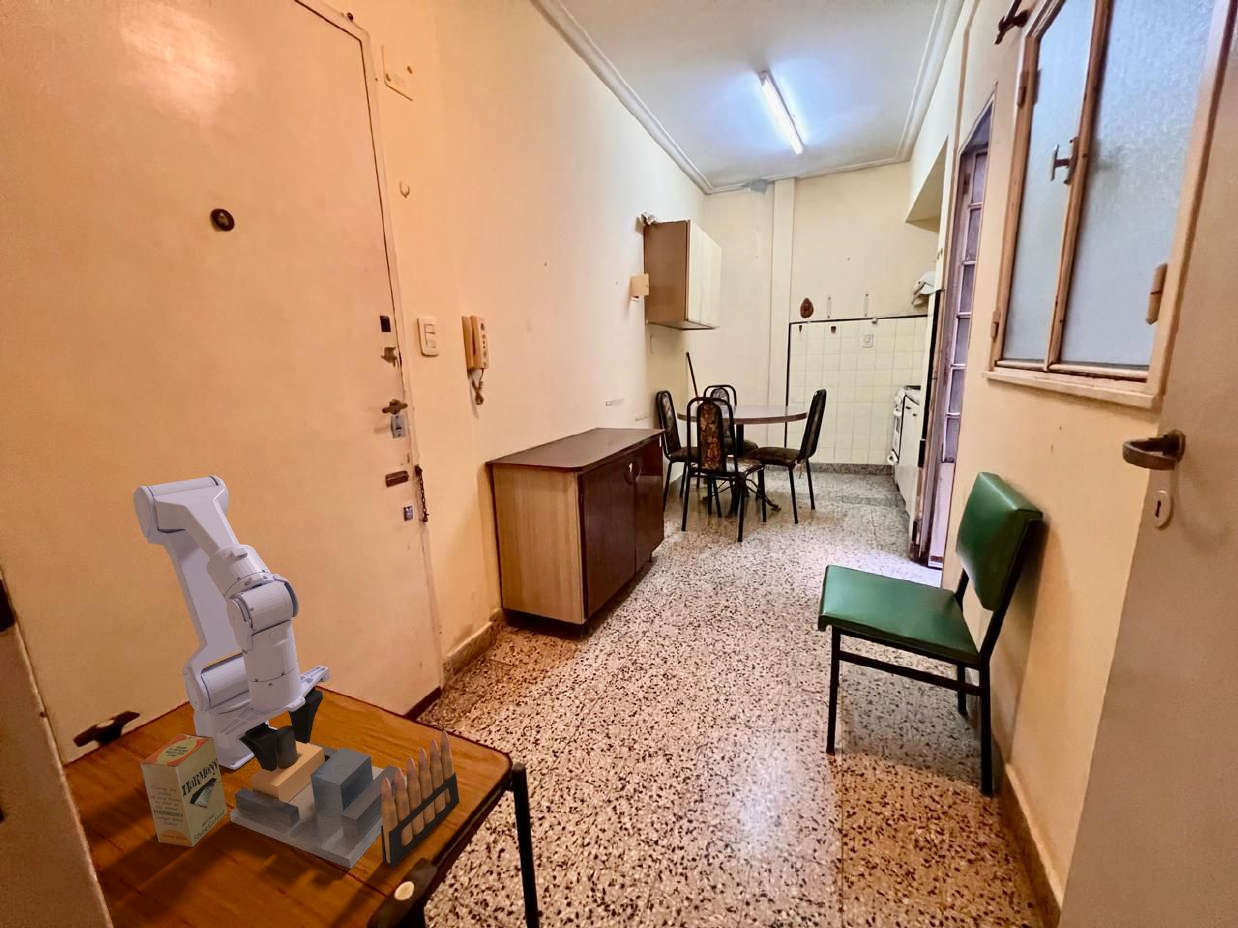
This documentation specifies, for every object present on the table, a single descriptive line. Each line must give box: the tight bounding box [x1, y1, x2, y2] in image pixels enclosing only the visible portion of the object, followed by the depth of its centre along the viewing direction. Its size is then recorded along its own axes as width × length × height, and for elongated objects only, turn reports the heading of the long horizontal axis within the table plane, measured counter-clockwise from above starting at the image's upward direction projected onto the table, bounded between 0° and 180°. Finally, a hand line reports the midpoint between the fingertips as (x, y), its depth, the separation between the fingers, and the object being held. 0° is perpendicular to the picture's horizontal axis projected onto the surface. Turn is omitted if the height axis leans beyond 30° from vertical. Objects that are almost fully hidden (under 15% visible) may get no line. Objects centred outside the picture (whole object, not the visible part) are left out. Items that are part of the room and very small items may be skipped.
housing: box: [310, 746, 373, 822], centre depth 66 cm, size 6×5×6 cm
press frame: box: [229, 741, 407, 870], centre depth 67 cm, size 20×12×5 cm, turn 72°
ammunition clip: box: [380, 729, 460, 868], centre depth 63 cm, size 11×2×12 cm, turn 150°
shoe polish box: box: [139, 733, 229, 848], centre depth 63 cm, size 5×5×12 cm
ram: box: [250, 724, 325, 803], centre depth 68 cm, size 5×7×8 cm
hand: (286, 753), depth 68 cm, fingers open, 4 cm apart
